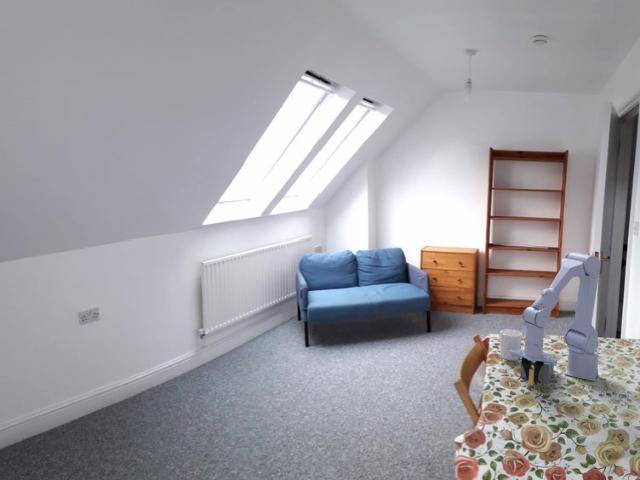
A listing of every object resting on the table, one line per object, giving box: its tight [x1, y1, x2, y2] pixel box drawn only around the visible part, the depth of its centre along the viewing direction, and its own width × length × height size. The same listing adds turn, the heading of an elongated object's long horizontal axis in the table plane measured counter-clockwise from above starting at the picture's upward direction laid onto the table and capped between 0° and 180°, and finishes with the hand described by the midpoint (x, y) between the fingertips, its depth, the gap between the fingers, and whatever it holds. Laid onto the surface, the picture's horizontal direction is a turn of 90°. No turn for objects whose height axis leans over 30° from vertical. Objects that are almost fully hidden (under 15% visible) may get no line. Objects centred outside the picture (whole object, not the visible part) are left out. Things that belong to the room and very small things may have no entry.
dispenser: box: [519, 352, 555, 384], centre depth 169 cm, size 9×11×7 cm
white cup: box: [499, 328, 523, 361], centre depth 185 cm, size 8×8×10 cm
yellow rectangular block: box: [527, 364, 538, 386], centre depth 166 cm, size 2×10×6 cm, turn 145°
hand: (531, 380), depth 163 cm, fingers closed on yellow rectangular block
